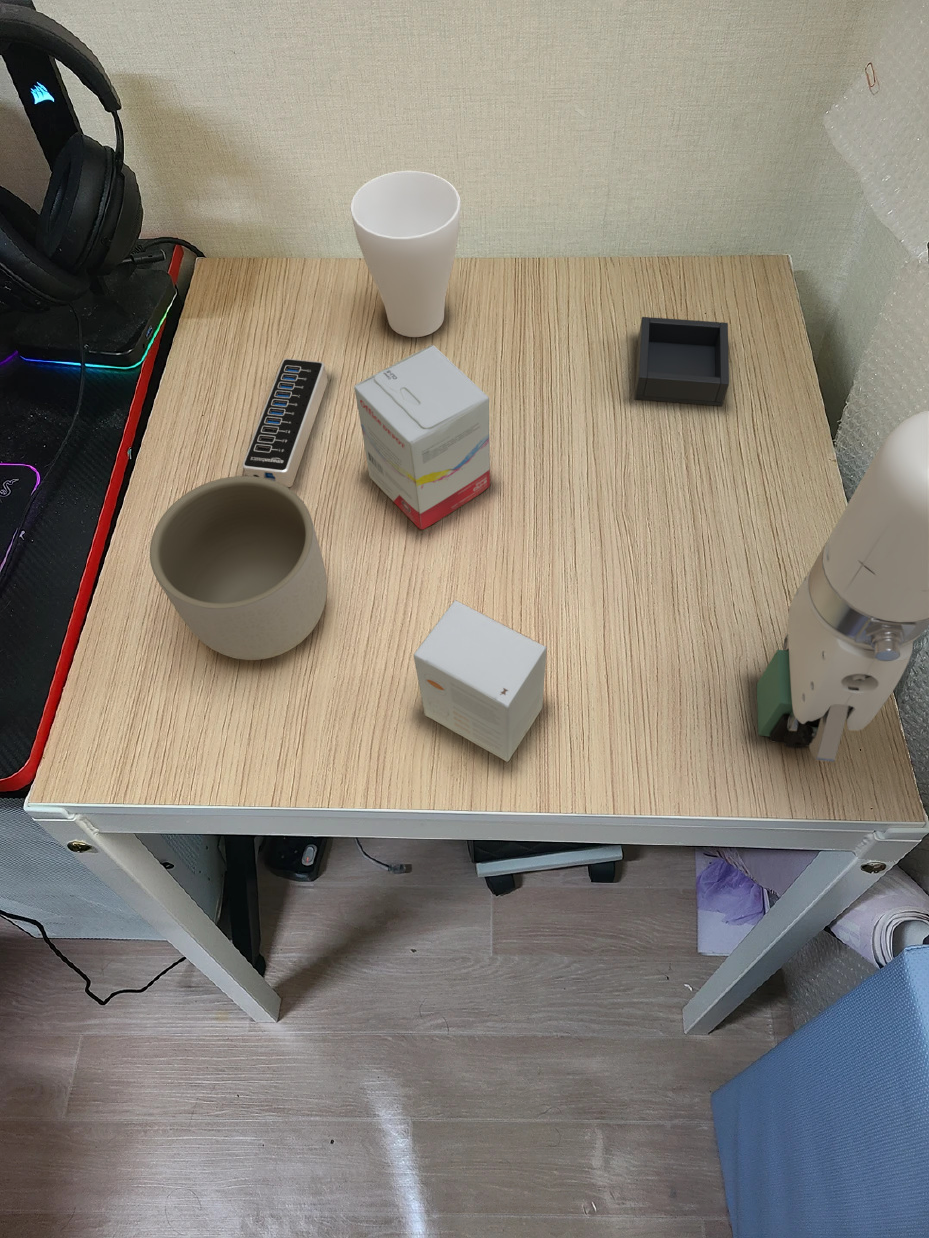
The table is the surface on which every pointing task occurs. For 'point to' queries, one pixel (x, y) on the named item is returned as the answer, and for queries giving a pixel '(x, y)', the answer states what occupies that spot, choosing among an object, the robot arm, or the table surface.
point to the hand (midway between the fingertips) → (788, 708)
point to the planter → (242, 566)
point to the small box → (481, 679)
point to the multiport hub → (286, 421)
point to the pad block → (774, 693)
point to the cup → (409, 245)
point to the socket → (682, 361)
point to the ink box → (425, 435)
